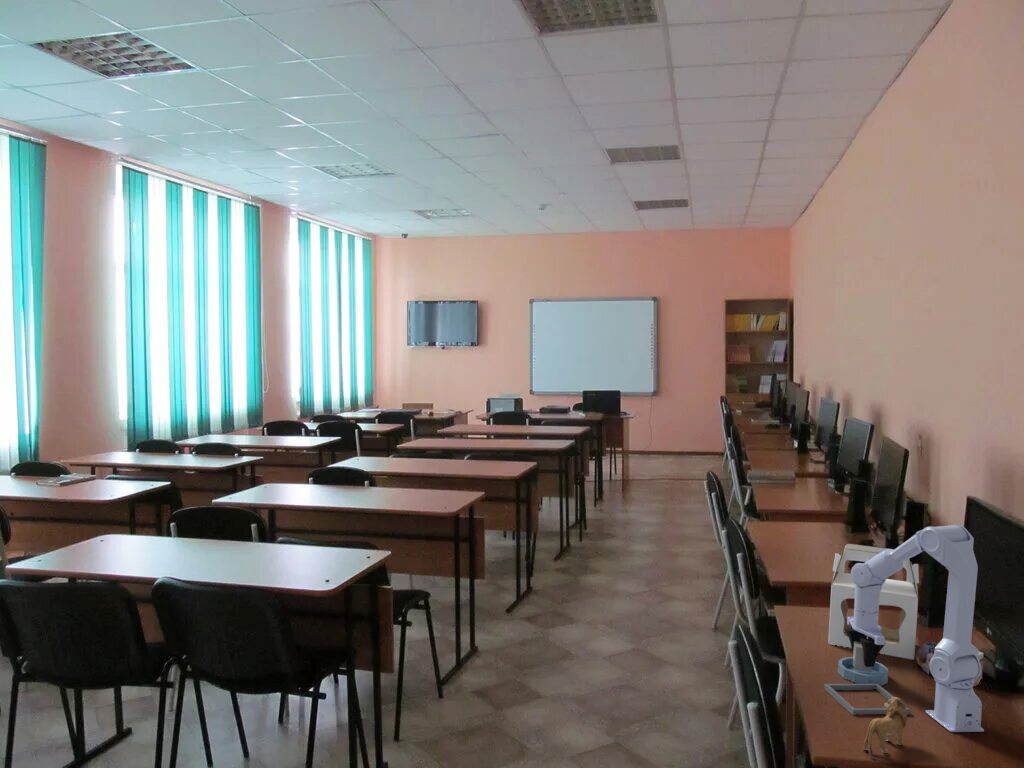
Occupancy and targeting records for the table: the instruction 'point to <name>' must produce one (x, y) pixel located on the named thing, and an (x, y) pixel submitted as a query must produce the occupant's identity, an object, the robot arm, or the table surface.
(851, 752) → the table surface
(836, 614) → the gable box
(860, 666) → the stone block
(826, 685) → the tray
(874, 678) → the bowl
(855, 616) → the robot arm
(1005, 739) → the table surface
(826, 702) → the table surface
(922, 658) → the skull
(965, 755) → the table surface
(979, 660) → the small box
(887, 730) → the lion figurine
